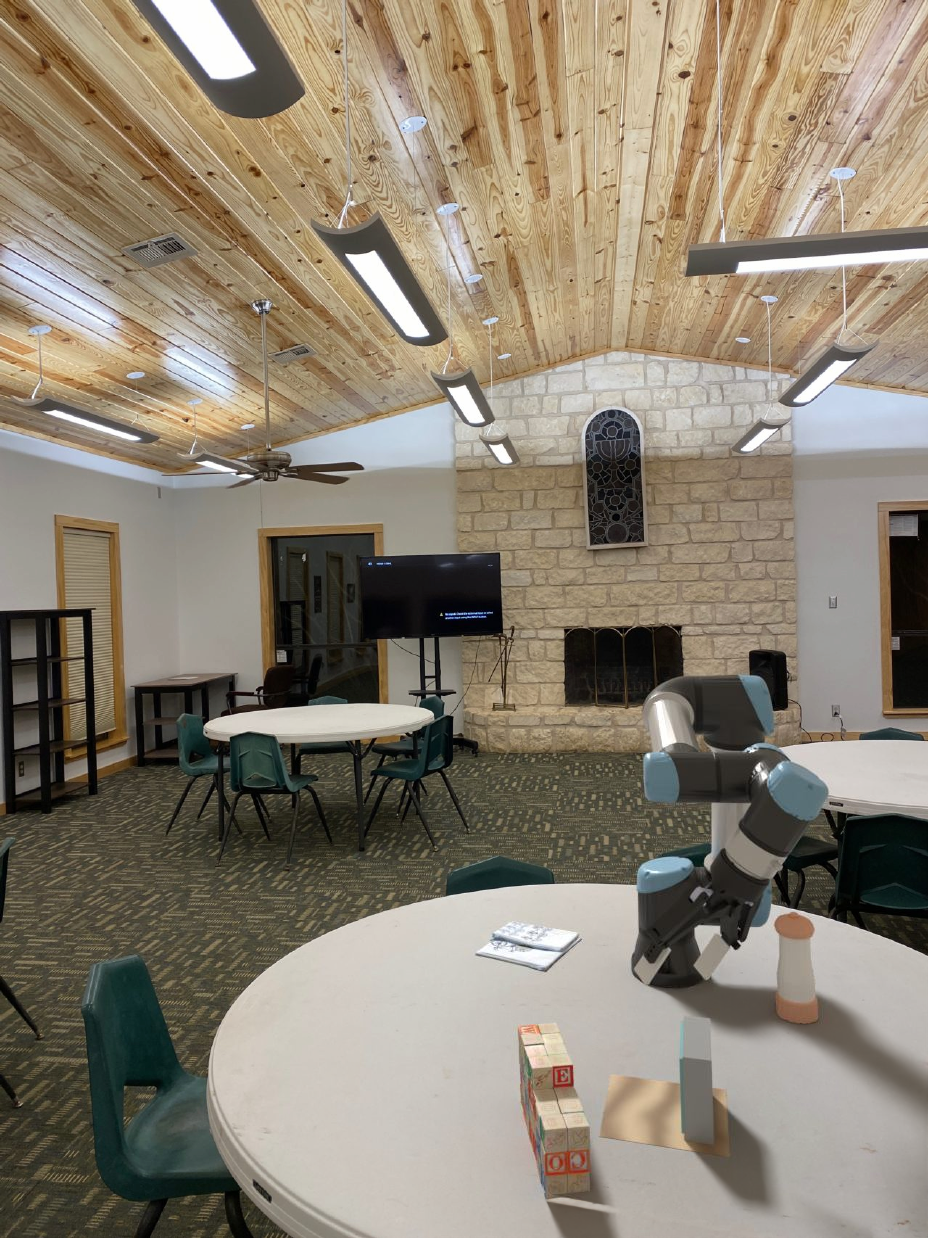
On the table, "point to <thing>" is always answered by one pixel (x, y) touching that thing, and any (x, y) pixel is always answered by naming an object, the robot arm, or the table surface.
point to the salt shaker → (795, 970)
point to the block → (696, 1080)
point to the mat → (658, 1115)
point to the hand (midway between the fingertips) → (671, 974)
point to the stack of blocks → (553, 1111)
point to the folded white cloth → (543, 939)
